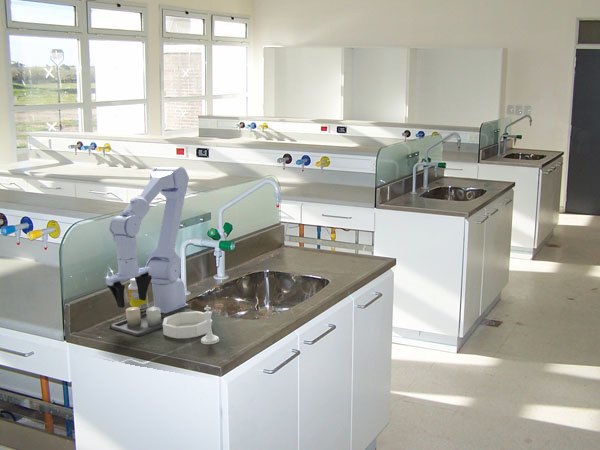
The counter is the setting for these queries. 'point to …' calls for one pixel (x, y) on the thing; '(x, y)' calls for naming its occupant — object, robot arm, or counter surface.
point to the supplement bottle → (136, 296)
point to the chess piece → (209, 329)
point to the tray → (138, 329)
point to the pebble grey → (153, 316)
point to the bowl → (185, 325)
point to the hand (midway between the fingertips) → (132, 303)
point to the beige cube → (133, 316)
